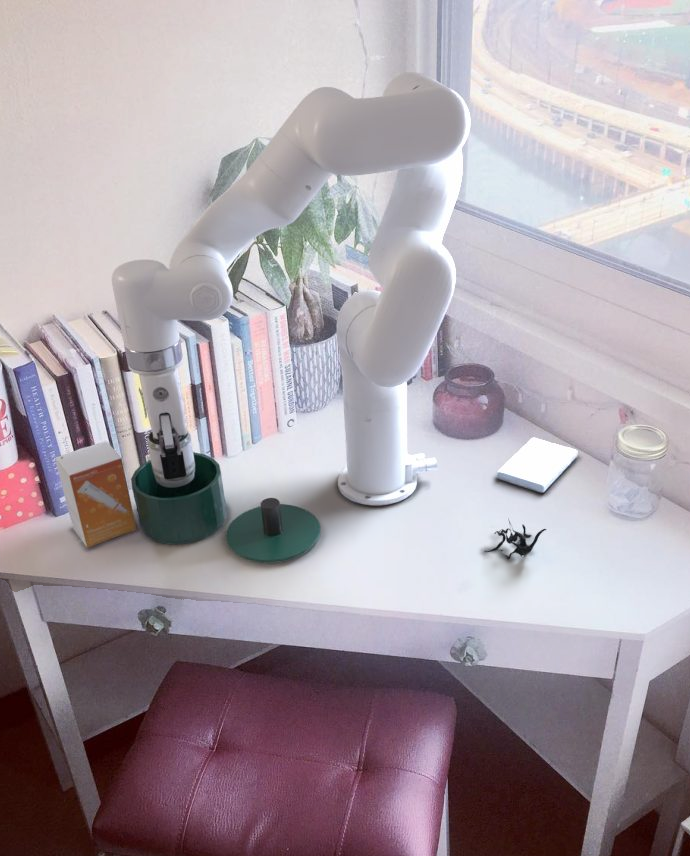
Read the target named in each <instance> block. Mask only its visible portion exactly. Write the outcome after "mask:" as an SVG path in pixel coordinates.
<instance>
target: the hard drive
mask: <svg viewBox="0 0 690 856" xmlns="http://www.w3.org/2000/svg"><path fill="white" fill-rule="evenodd" d="M577 458H578V450H576V449H574V448H571V447H568V446H564V445H560V444H556V443H553V442H550V441H547V440H544V439H539V438H537V437H531V438H530V439H529V440H528V441H527V442H526V443H525V444H524V445H523V446H522V447H521V448H520V449H519V450H518V451H517V452H516V453H515V454H514V455H512V456H511V458H510V459H509V460H508V461H506V462H505V464H504V465H502V467H500V468H499V469H498V470H497V472H496V479H498V480H499V481H502V482H505V483H509V484H512V485H515V486H519V487H522V488H525V489H528V490H531V491H535V492H538V493H541V494H542V493H543V494H544V493H545V492H546V491H547V490H548V489H549V487H550V486H552V484H553V483H554V482H555V481H556V480H557V479H558V478H559V477H560V475H562V474H563V472H565V470H566V469H567V468H569V466H570V465H571V464H572V463H573V462H574V461H575V460H576V459H577Z"/></svg>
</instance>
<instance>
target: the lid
mask: <svg viewBox="0 0 690 856" xmlns="http://www.w3.org/2000/svg"><path fill="white" fill-rule="evenodd" d="M320 524H321V523H320V521H319V519H318V518H317V517H316V516H315V515H314V513H312V512H311V511H310V510H307V509H306V508H303V507H301V506H297V505H293V504H285V503H281V501H280V500H279V499H278V498H276V497H266V498H264V499H263V500H261V502H260V506H256V507H253V508H250V509H248V510H246V511H244V512H242V513H240V514H239V515H238V516H236V517H235V518H234V519H233V520H232V521H231V522H230V524H229V525H228V527H227V529H226V531H225V538H226V539H225V541H226V543H227V546H228V548H229V550H231V551H232V552H233V553H234V554H235V555H236V556H238V557H240V558H242V559H244V560H247V561H251V562H256V563H265V564H266V563H268V564H269V563H279V562H285V561H290V560H293V559H295V558H297V557H300V556H302V555H304V554H305V553H307V552H308V551H310V550H311V549H312V548H313V547H314V546H315V545H316V544H317V542H318V541H319V539H320V536H321V525H320Z"/></svg>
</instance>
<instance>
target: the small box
mask: <svg viewBox="0 0 690 856" xmlns="http://www.w3.org/2000/svg"><path fill="white" fill-rule="evenodd" d="M54 460H55V464H56V469H57V472H58V476H59V479H60V483H61V487H62V488H61V489H62V492H63V495H64V499H65V503H66V508H67V511H68V514H69V517H70V521H71V525H72V529H73V531H74V532H75V533H76V534H77V536H78V537H79V538H80V540H81V541H82V543H83V544H84V545H85V547H86V548H87V549H88V548H91V547H93V546H95V545H98V544H101V543H103V542H106V541H108V540H111V539H114V538H116V537H119V536H122V535H124V534H127V533H131V532H134V531H136V530H137V524H136V520H135V515H134V510H133V506H132V500H131V495H130V491H129V488H128V482H127V481H128V480H127V477H126V472H125V468H124V467H125V466H124V462H123V458H122V457H121V455H120V454H119V453H118V452H117V451H116V450H115V448H113V446H112V445H111V444H110V442H108V441H107V440H105V441H102V442H98V443H95V444H92V445H89V446H85V447H81V448H78V449H75V450H74V451H71V452H67V453H64V454H62V455H59V456H55V457H54Z"/></svg>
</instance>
